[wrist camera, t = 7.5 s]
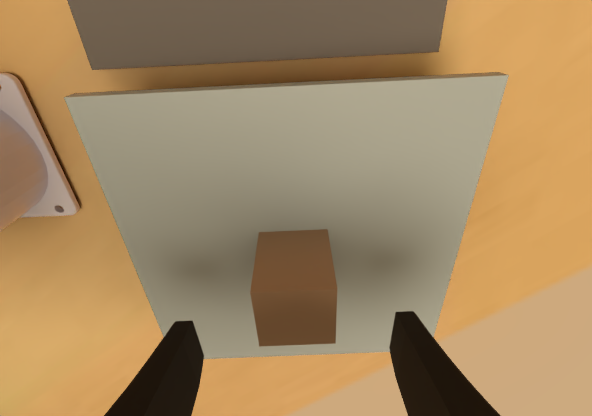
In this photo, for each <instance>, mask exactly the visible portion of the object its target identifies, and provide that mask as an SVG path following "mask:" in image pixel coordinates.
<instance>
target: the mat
mask: <svg viewBox="0 0 592 416" xmlns="http://www.w3.org/2000/svg"><path fill="white" fill-rule="evenodd" d="M67 1H68V4H69V6H70V9H71V12H72V15H73V18H74V20H75V23H76V26H77V29H78V32H79V34H80V37H81V40H82V43H83V46H84V48H85V51H86V54H87V57H88V60H89V62H90V65H91V68H92V70H99V69H119V68H138V67H157V66H176V65H196V64H215V63H234V62H253V61H272V60H292V59H311V58H330V57H349V56H369V55H388V54H407V53H426V52H439V46H440V40H441V34H442V28H443V23H444V17H445V11H446V5H447V0H67Z"/></svg>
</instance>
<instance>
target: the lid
mask: <svg viewBox="0 0 592 416" xmlns="http://www.w3.org/2000/svg"><path fill="white" fill-rule="evenodd" d="M508 76H509V75H507V74H503V73H500V72H492V73H472V74H452V75H432V76H412V77H392V78H372V79H352V80H332V81H312V82H293V83H273V84H253V85H233V86H213V87H193V88H173V89H153V90H133V91H113V92H93V93H74V94H71V95H69V96H66V97H64V99H65V101H66V104H67V106H68V108H69V111H70V113H71V116H72V118H73V120H74V123H75V125H76V128H77V130H78V132H79V135H80V137H81V140H82V142H83V144H84V147H85V149H86V152H87V154H88V156H89V159H90V161H91V164H92V166H93V168H94V171H95V173H96V176H97V178H98V180H99V183H100V185H101V188H102V190H103V192H104V195H105V197H106V200H107V202H108V204H109V207H110V209H111V212H112V214H113V216H114V219H115V221H116V224H117V226H118V228H119V231H120V233H121V236H122V238H123V240H124V243H125V245H126V248H127V250H128V252H129V255H130V257H131V260H132V262H133V264H134V267H135V269H136V272H137V274H138V276H139V279H140V281H141V284H142V286H143V288H144V291H145V293H146V296H147V298H148V300H149V303H150V305H151V308H152V310H153V312H154V315H155V317H156V320H157V322H158V324H159V327H160V329H161V332H162V334H163V336H165V335H166V333H167V332H168V331H169V329H170V328H171V326H172V325H173V323H174V322H175V321H193V323H194V326H195V329H196V332H197V335H198V338H199V341H200V345H201V348H202V351H203V354H204V359H217V358H243V357H268V356H294V355H320V354H345V353H371V352H390V349H389V347H390V341H391V335H392V330H393V324H394V318H395V313H396V312H403V311H414V312H415V313H416V315H417V316H418V317H419V319H420V320H421V322H422V323H423V324H424V326H425V327H426V328H427V330H428V331H429V332H430V334H431V335H432V336H433V337H434V333H435V330H436V326H437V323H438V319H439V316H440V312H441V309H442V305H443V302H444V298H445V295H446V291H447V288H448V284H449V281H450V278H451V274H452V271H453V267H454V264H455V260H456V257H457V253H458V250H459V246H460V243H461V239H462V236H463V232H464V229H465V225H466V222H467V218H468V215H469V211H470V208H471V205H472V201H473V198H474V194H475V191H476V187H477V184H478V180H479V177H480V173H481V170H482V166H483V163H484V159H485V156H486V152H487V149H488V145H489V142H490V139H491V135H492V132H493V128H494V125H495V121H496V118H497V114H498V111H499V107H500V104H501V100H502V97H503V93H504V90H505V86H506V83H507V79H508Z"/></svg>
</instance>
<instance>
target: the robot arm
mask: <svg viewBox="0 0 592 416" xmlns="http://www.w3.org/2000/svg"><path fill="white" fill-rule="evenodd" d="M0 85H1V89H0V232H1V231H2V230H3V229H5V228H6V227H7V226H8V225H10V224H11V223H12V222H14V221H15V220H16V219H18V218H22V217H44V216H65V215H74V214H76V213H77V212H78V211H79V209H80V207H79V204H78V202H77V200H76V198H75V196H74V194H73V192H72V189H71V187H70V185H69V183H68V181H67V179H66V177H65V175H64V173H63V171H62V168H61V166H60V164H59V162H58V160H57V158H56V156H55V154H54V152H53V149H52V147H51V145H50V143H49V141H48V139H47V137H46V135H45V133H44V131H43V128H42V126H41V124H40V122H39V120H38V118H37V116H36V114H35V112H34V110H33V107H32V105H31V103H30V101H29V99H28V97H27V95H26V93H25V91H24V89H23V86H22V84H21V83H20V81H19V80H18V78H16V77H15V76H14V75H12V74H10V73H0ZM59 206H61V207H62V208H63V209H62V208H60V207H59ZM389 349H390V353H391V358H392V363H393V367H394V372H395V376H396V380H397V383H398V386H399V389H400V392H401V395H402V398H403V401H404V404H405V407H406V410H407V413H408V416H500V415H499V414H498V413H497V411H496V410H495V409H494V408H493V407H492V406H491V405H490V404H489V403H488V402H487V401H486V400H485V399H484V398H483V396H482V395H481V394H480V393H479V392H478V391H477V390H476V389H475V388H474V386H473V385H472V384H471V383H470V382H469V381H468V380H467V379H466V377H465V376H464V375H463V374H462V373H461V371H460V370H459V369H458V368H457V367H456V365H455V364H454V363H453V362H452V361H451V359H450V358H449V357H448V356H447V354H446V353H445V352H444V351H443V349H442V348H441V347H440V346H439V344H438V343H437V342H436V340H435V339H434V338H433V336H432V335H431V334H430V332H429V331H428V330H427V328H426V327H425V326H424V324H423V323H422V322H421V320H420V319H419V317H418V316H417V315H416V313H415V312H414V311H403V312H396V313H395V318H394V324H393V330H392V335H391V341H390V347H389ZM203 359H204V354H203V351H202V348H201V345H200V341H199V338H198V335H197V332H196V329H195V326H194V323H193V321H175V322H174V323H173V325H172V326H171V328H170V329H169V331H168V332H167V333H166V335H165V336H164V338H163V339H162V341H161V342H160V344H159V345H158V346H157V348H156V349H155V351H154V352H153V353H152V355H151V356H150V358H149V359H148V360H147V362H146V363H145V364H144V366H143V367H142V368H141V370H140V371H139V372H138V374H137V375H136V376H135V378H134V379H133V380H132V382H131V383H130V384H129V386H128V387H127V388H126V389H125V391H124V392H123V393H122V394H121V396H120V397H119V398H118V399H117V400H116V402H115V403H114V404H113V405H112V407H111V408H110V409H109V410H108V412H107V413H106V414H105V415H104V416H191V414H192V411H193V407H194V403H195V400H196V396H197V392H198V388H199V384H200V378H201V372H202V366H203Z"/></svg>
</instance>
